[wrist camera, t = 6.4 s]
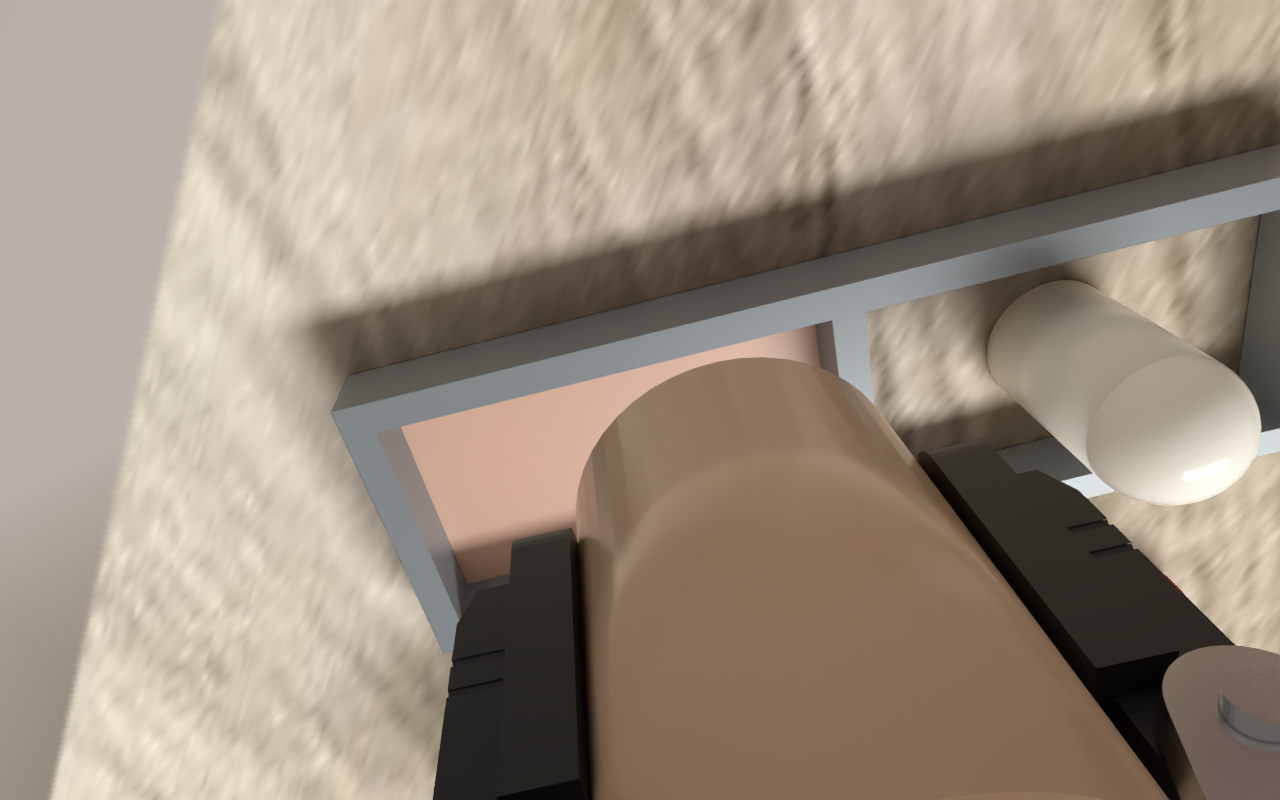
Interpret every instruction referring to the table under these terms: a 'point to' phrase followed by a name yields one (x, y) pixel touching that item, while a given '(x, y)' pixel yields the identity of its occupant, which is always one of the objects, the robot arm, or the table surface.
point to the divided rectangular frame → (729, 329)
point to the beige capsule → (809, 614)
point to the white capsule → (1125, 394)
